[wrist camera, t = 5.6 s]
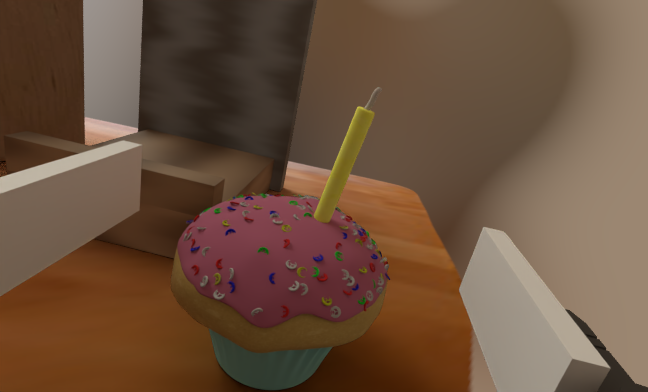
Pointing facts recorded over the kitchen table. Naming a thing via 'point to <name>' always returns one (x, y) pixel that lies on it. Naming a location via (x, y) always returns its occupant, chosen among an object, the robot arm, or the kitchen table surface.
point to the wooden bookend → (202, 111)
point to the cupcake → (282, 276)
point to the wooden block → (42, 69)
